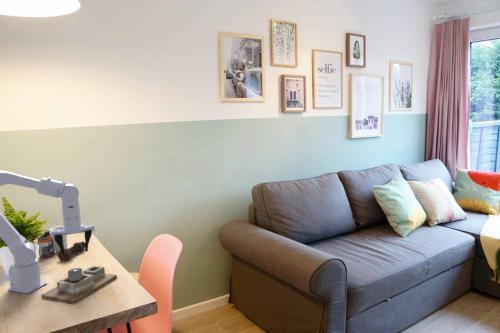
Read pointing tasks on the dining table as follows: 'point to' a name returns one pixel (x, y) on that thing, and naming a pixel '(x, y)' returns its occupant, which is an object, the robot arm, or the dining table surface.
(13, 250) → the robot arm
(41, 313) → the dining table surface
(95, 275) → the fitting board
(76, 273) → the gray metal cylinder
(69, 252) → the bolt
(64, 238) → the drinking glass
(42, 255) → the supplement bottle
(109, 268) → the dining table surface
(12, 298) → the dining table surface
